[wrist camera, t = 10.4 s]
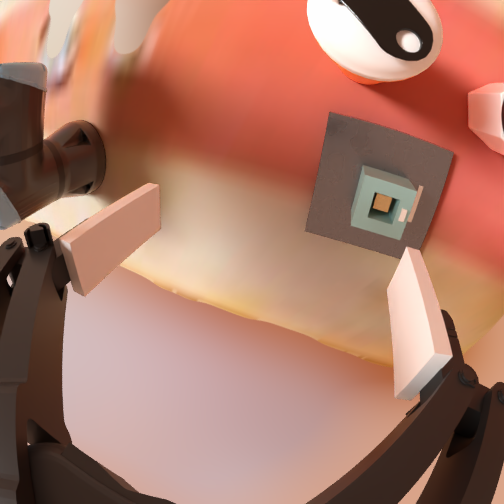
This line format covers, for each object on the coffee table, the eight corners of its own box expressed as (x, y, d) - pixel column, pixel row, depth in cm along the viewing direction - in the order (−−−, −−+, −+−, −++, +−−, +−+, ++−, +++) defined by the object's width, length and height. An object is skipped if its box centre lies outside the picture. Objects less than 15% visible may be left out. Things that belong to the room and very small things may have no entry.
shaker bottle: (362, 106, 28) (381, 106, 12) (312, 52, 27) (265, -3, 11) (415, 67, 23) (484, 34, 7) (363, 13, 22) (370, -71, 6)
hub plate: (306, 226, 39) (299, 245, 34) (330, 111, 30) (326, 112, 26) (412, 257, 35) (418, 279, 31) (449, 150, 27) (465, 159, 22)
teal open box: (362, 164, 31) (365, 175, 26) (408, 179, 29) (417, 192, 25) (351, 209, 34) (350, 226, 30) (394, 222, 33) (400, 241, 28)
